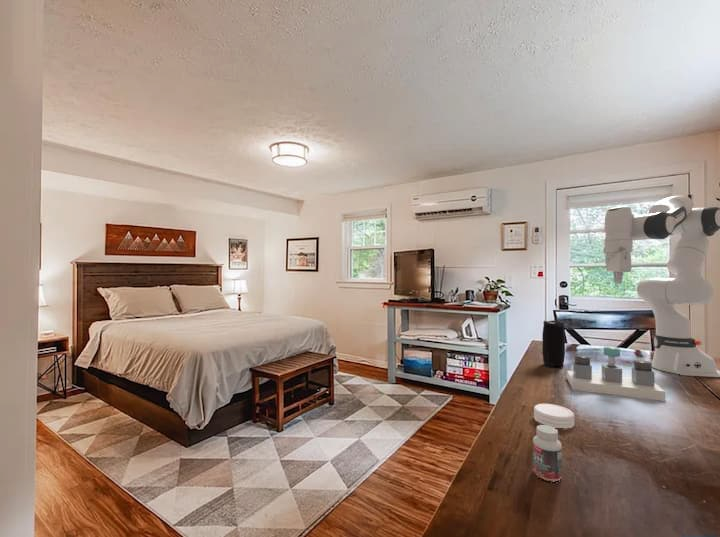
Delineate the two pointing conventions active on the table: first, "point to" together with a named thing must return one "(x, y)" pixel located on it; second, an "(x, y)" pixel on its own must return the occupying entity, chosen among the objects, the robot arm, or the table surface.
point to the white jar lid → (554, 416)
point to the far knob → (582, 360)
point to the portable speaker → (553, 343)
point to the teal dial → (611, 355)
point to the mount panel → (615, 382)
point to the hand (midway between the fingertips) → (618, 283)
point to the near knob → (643, 365)
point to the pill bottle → (547, 453)
